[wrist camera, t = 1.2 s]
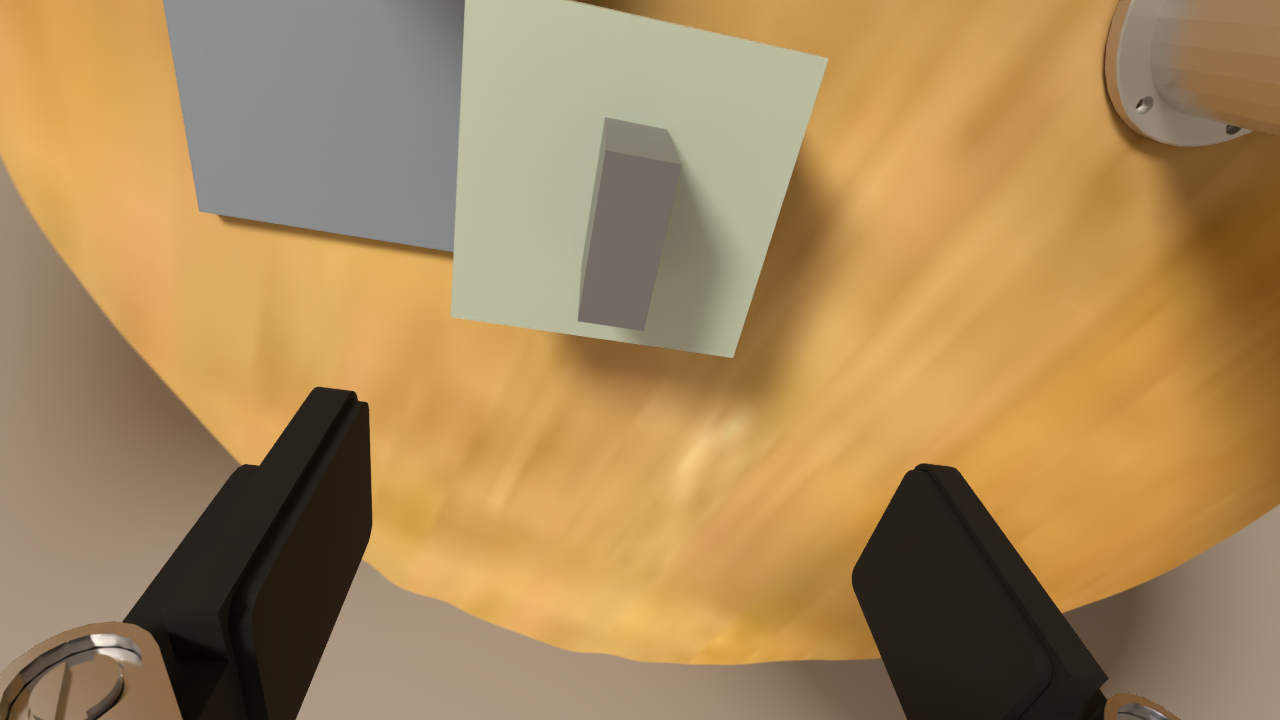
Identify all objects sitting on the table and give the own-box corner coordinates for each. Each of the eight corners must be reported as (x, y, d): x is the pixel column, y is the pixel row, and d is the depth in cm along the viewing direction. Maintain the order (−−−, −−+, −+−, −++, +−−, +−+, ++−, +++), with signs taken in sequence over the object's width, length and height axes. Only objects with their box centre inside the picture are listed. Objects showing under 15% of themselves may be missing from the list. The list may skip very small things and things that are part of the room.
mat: (493, -38, 28) (489, -39, 28) (474, 248, 36) (471, 254, 35) (157, -114, 26) (143, -117, 26) (209, 205, 33) (199, 211, 33)
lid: (811, 52, 25) (883, 78, 18) (725, 335, 31) (756, 425, 25) (477, -22, 23) (429, -21, 16) (460, 295, 29) (421, 382, 23)
